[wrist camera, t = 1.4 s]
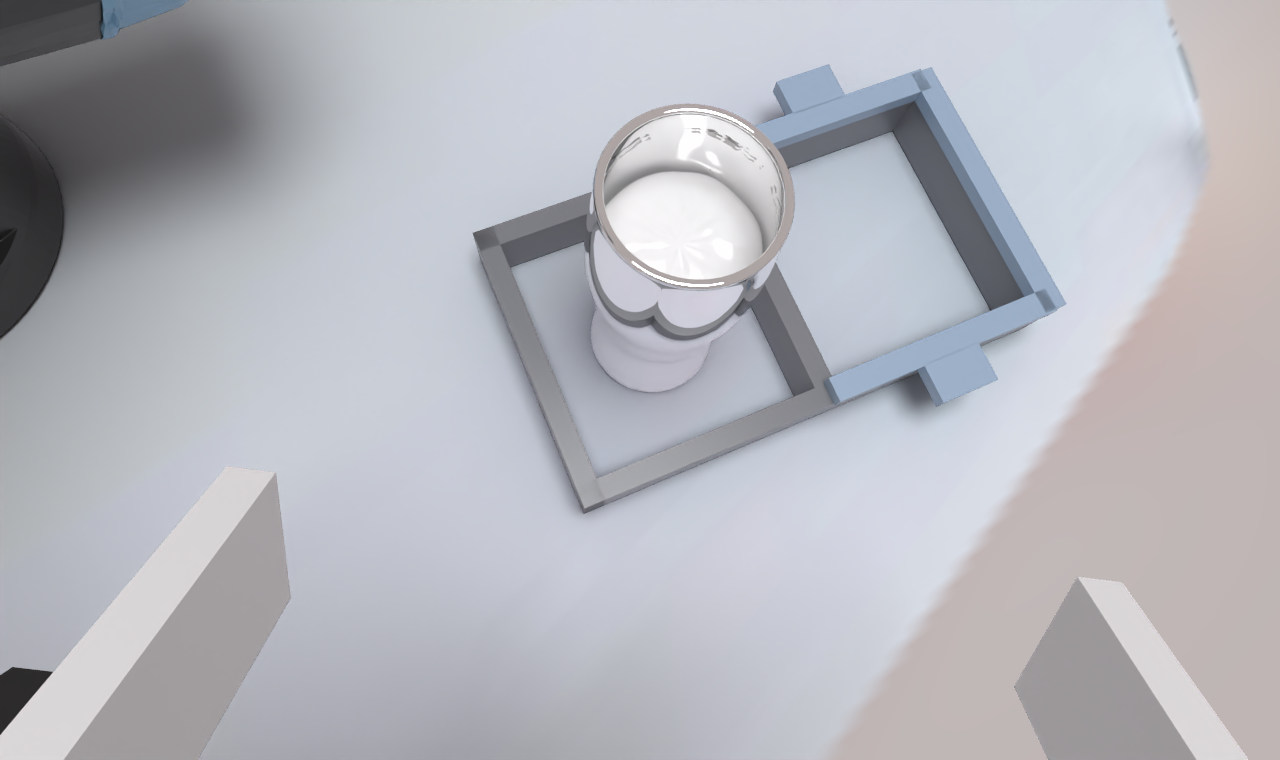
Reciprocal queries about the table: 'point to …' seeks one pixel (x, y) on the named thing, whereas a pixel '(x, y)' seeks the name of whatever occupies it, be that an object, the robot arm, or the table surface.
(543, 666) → the table surface
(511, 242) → the open frame
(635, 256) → the drinking glass
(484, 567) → the table surface
